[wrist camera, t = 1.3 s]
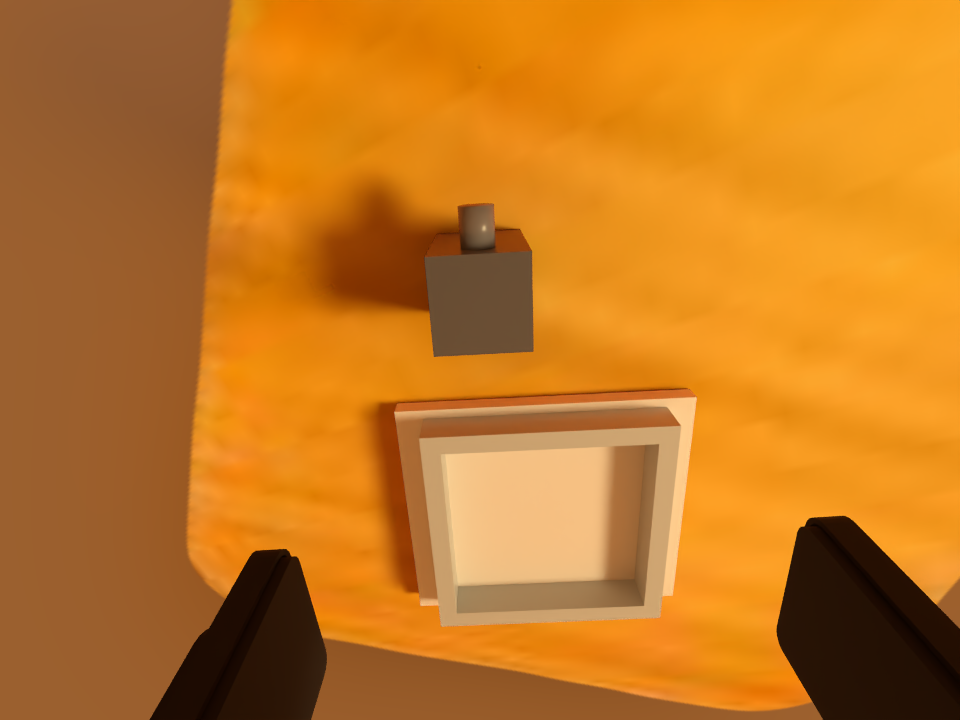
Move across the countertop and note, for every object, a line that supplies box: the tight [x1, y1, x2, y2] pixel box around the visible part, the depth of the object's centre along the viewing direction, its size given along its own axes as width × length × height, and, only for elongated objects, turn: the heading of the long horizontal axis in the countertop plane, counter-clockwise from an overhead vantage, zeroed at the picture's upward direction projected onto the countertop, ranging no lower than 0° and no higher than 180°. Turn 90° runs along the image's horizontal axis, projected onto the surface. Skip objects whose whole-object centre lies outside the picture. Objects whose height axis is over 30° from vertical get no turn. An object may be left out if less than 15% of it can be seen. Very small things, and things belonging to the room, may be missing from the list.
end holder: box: [394, 389, 697, 627], centre depth 29 cm, size 14×16×3 cm
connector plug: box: [424, 203, 533, 357], centre depth 22 cm, size 6×4×6 cm
